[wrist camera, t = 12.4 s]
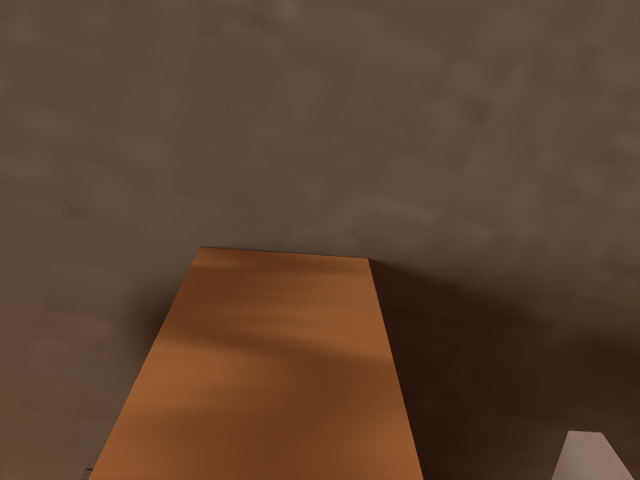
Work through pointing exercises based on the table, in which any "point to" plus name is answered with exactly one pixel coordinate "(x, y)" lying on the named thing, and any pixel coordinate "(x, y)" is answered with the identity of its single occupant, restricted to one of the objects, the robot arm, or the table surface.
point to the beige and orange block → (266, 378)
